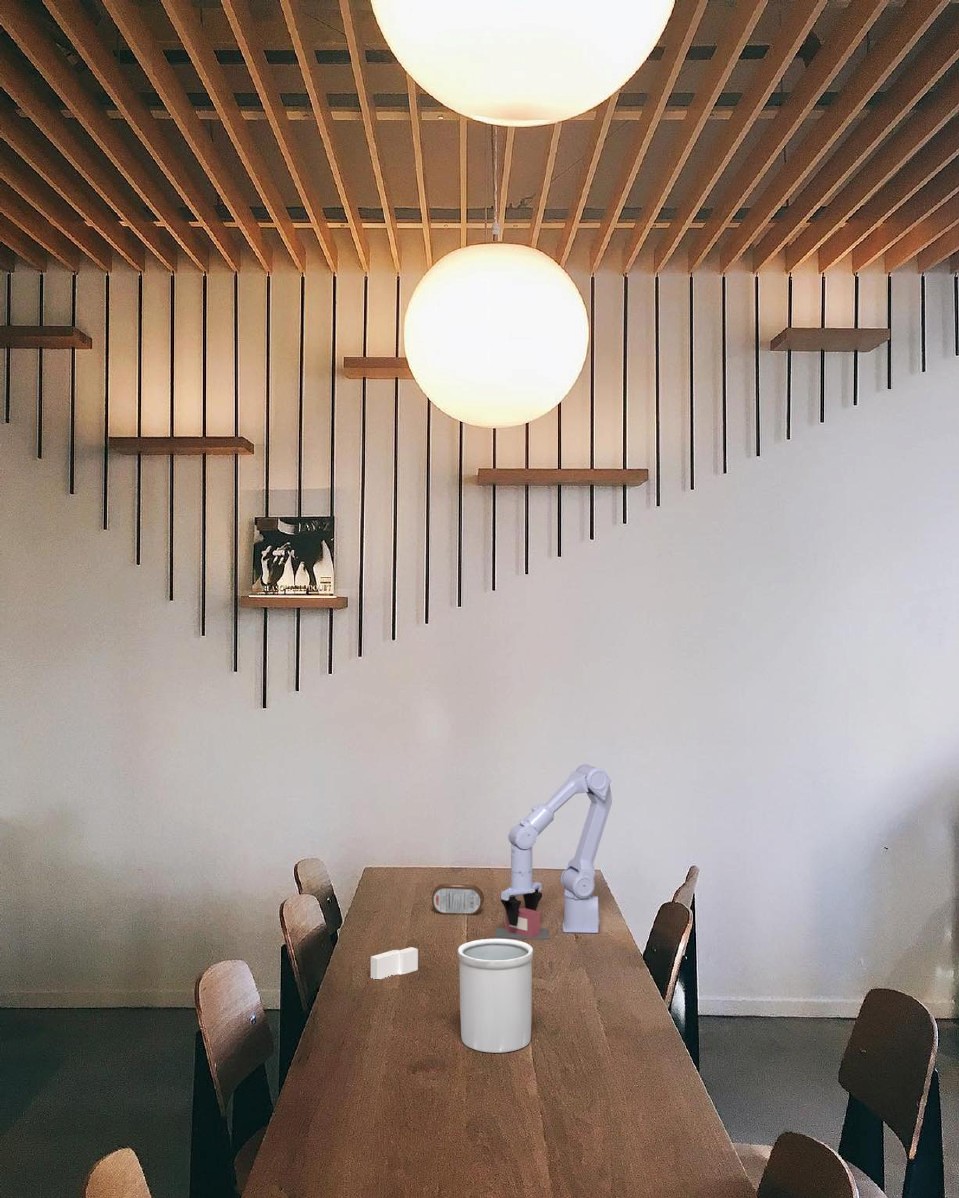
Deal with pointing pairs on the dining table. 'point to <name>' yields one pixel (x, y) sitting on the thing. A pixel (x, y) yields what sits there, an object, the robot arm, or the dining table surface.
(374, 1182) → the dining table surface
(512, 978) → the utensil holder
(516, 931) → the box
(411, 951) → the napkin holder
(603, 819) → the robot arm
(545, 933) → the mat
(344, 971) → the dining table surface
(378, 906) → the dining table surface
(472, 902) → the tin
